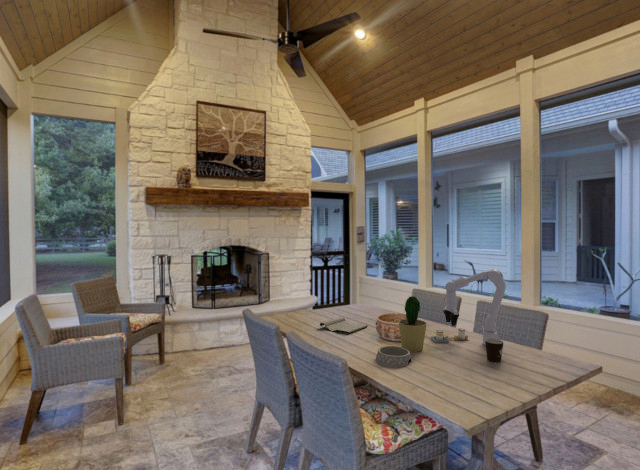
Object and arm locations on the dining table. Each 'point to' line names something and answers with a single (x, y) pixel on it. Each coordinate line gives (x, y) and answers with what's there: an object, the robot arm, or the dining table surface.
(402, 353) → the dog bowl
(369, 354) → the dining table surface
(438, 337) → the cylinder
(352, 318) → the dining table surface
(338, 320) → the mat
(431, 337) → the tray
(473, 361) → the dining table surface
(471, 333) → the dining table surface
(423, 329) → the potted cactus
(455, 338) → the fuse holder
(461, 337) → the cylinder
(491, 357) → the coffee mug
